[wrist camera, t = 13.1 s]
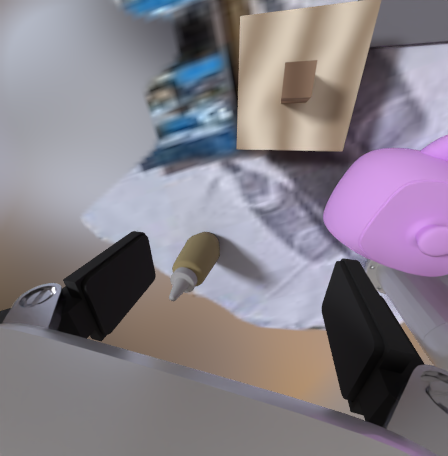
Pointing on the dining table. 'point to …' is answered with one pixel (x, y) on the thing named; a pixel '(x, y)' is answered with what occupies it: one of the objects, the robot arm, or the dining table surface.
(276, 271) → the dining table surface
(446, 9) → the mat
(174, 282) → the squeeze bottle
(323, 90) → the lid
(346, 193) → the teapot
